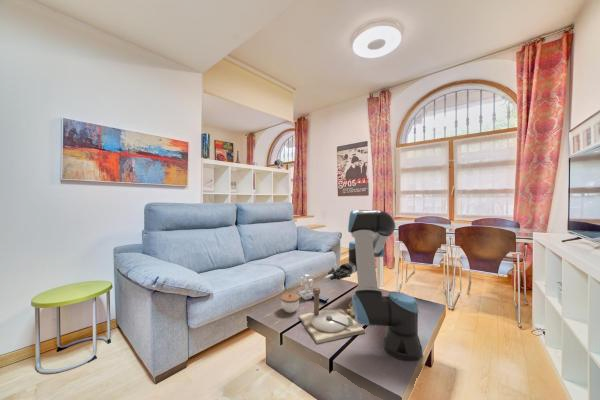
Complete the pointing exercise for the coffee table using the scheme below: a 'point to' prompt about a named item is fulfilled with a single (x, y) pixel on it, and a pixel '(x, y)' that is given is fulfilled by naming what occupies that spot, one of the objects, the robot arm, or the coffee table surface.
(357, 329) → the beige flat board
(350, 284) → the coffee table surface
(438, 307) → the coffee table surface
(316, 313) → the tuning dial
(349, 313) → the cat figure
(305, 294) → the figurine
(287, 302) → the lidded jar
